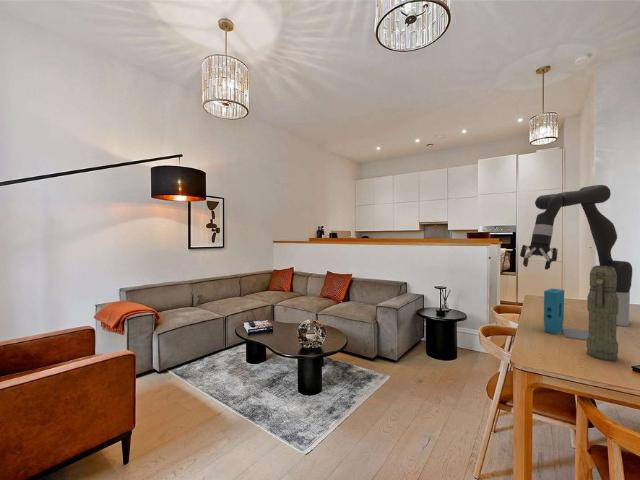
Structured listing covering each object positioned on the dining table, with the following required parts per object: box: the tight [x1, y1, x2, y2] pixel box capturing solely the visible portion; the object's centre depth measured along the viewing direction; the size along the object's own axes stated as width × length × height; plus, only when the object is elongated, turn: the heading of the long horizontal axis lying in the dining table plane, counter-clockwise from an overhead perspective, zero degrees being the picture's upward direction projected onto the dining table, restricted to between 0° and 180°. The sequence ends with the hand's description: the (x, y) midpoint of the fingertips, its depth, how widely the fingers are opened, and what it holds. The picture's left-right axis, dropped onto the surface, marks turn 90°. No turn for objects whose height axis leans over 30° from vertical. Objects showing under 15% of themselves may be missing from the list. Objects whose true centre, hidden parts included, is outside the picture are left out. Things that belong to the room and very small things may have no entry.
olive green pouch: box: [586, 265, 619, 362], centre depth 114 cm, size 9×12×35 cm
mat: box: [562, 327, 589, 342], centre depth 138 cm, size 16×16×1 cm
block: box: [543, 288, 565, 335], centre depth 144 cm, size 12×5×20 cm, turn 126°
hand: (535, 267), depth 141 cm, fingers open, 8 cm apart
